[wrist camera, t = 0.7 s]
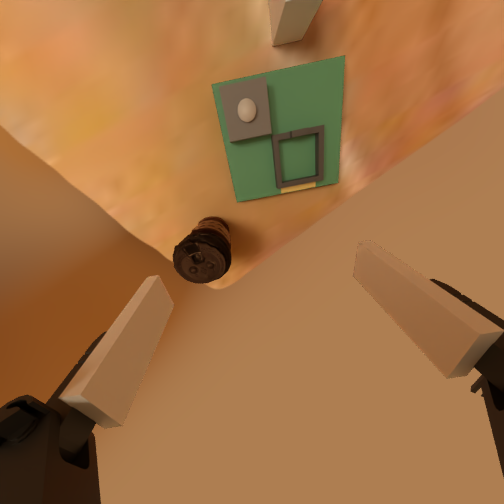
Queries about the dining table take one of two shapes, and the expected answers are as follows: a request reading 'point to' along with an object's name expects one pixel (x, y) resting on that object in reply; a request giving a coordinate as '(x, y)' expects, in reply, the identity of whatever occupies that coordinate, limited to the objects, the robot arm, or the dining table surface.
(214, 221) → the coffee cup
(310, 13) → the plug
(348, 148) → the dining table surface
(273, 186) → the board
